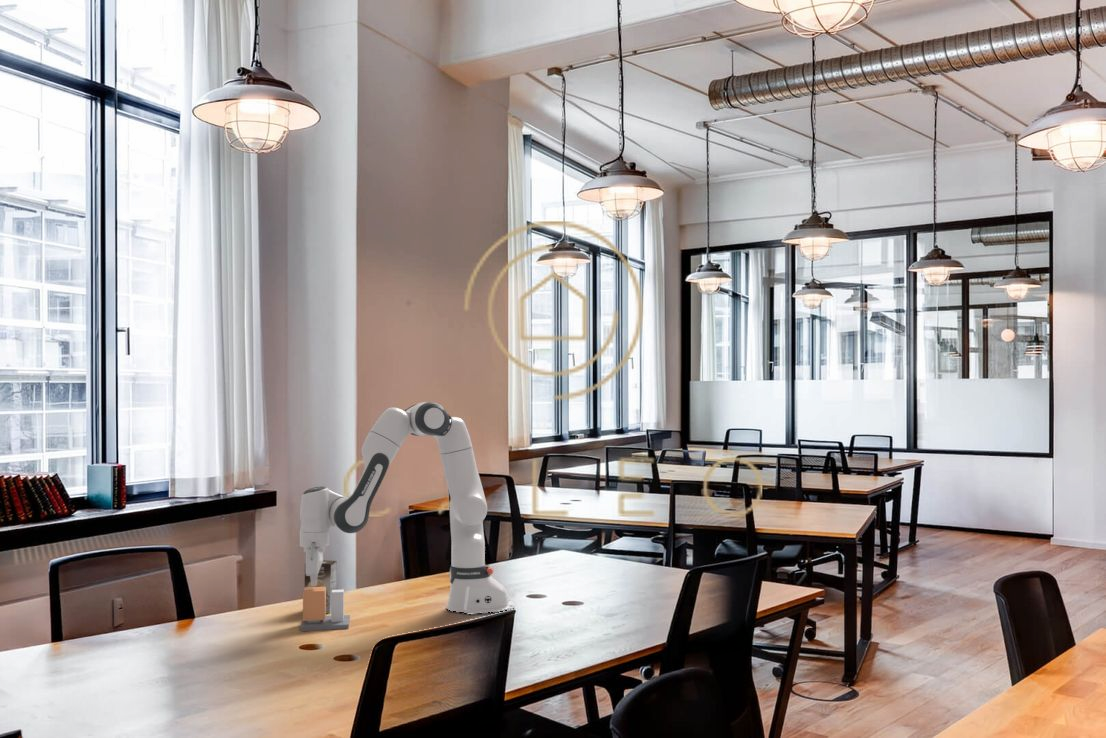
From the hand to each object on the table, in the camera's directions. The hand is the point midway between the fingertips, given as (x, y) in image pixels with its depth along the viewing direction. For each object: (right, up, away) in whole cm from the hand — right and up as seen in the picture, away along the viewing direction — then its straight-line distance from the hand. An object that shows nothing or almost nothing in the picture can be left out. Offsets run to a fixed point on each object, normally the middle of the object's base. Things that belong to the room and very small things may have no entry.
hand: (313, 585), depth 276 cm
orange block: (0, -10, 0) cm, 10 cm away
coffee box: (-3, -13, +18) cm, 23 cm away
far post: (0, -12, 0) cm, 12 cm away
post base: (+4, -12, 0) cm, 13 cm away
